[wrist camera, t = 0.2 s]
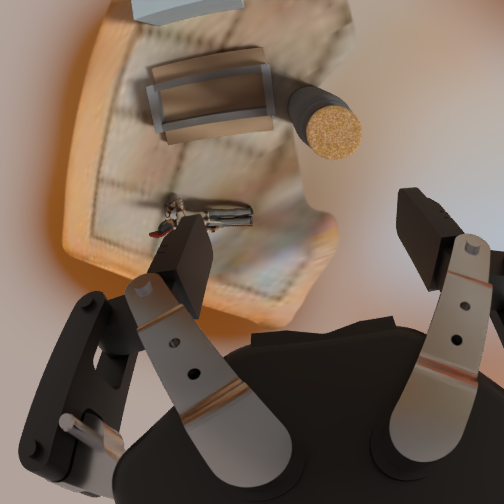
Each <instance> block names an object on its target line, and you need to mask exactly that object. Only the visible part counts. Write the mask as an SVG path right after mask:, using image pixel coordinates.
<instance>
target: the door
mask: <svg viewBox="0 0 504 504" xmlns="http://www.w3.org/2000/svg"><path fill="white" fill-rule="evenodd" d="M131 3H132V10H133V17H134V20H137V21H141V22H145V23H149V24H153V25H156V26H162V25H165V24H169V23H172V22H176V21H180V20H184V19H188V18H192V17H197V16H202V15H206V14H212V13H217V12H223V11H229V10H235V9H243V8H244V2H243V0H131Z"/></svg>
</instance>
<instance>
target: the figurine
mask: <svg viewBox="0 0 504 504" xmlns="http://www.w3.org/2000/svg"><path fill="white" fill-rule="evenodd" d="M166 204H167V205H165V207H166V206H167V209H166V211H167V213H169V216H170V214H171V211H172V210H173V209H174V208H175V207H176V206H178V207H177V214H176V216H177V219H176V220H174V219H171V218H170V219H169V220H166V219H165V221H163V222H162V223H161V224H160V225H159V228H158V229H159V230H158V231H155V232H152V233H149V236H150V237H155V238H159V237H163V236H164V235H166V234H167V233H168V232H170V231H171V230H173V227H177V225H178V223H179V221H180V219H181V217H183V216H188V215H194V214H201V215H202V217H203V220H204V223H205V226H206V230H207V233H208V232H215V230H218V229H219V228H223V227H227V226H252V225H231V224H241V223H250V224H252V220H253V218H252V216H246V217H234V218H220V217H224V216H241V215H251V214H253V210H252V208H251V206H250V207H249V208H246V209H242V208H241V209H240V208H236V209H229V210H224V209H209V210H205V211H201V212H190V211H186V210H185V209H184V202H183V199H182V198H180V199H178V200H176V201H174V202H173V203H172V204H171V205H170V203H169V202H166ZM165 207H164V210H165ZM165 216H166V214H165ZM166 218H169V217H166ZM229 224H230V225H229Z"/></svg>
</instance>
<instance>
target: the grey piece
mask: <svg viewBox="0 0 504 504" xmlns="http://www.w3.org/2000/svg"><path fill="white" fill-rule="evenodd" d="M152 72H153V77H154V82H155V84H154V85H151V86H147V87H146V91H147V96H148V101H149V105H150V110H151V114H152V119H153V123H154V128H155V132H156V134H157V133H161V132H165V134H166V138H167V143H168V145H172V144H177V143H183V142H188V141H194V140H200V139H206V138H213V137H220V136H227V135H234V134H242V133H251V132H260V131H270V130H273V121H272V115H276V111H275V103H274V94H273V86H272V78H271V71H270V64H265V58H264V51H263V47H260V48H251V49H243V50H236V51H229V52H223V53H217V54H211V55H206V56H201V57H196V58H191V59H187V60H182V61H178V62H174V63H170V64H166V65H162V66H159V67H155V68H152Z"/></svg>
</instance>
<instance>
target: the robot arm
mask: <svg viewBox="0 0 504 504" xmlns="http://www.w3.org/2000/svg"><path fill="white" fill-rule="evenodd" d="M396 229H397V234H398V236H399V239H400V240H401V242H402V243H403V245H404V247H405V249H406V251H407V252H408V254H409V256H410V258H411V259H412V261H413V263H414V265H415V267H416V269H417V271H418V273H419V274H420V276H421V278H422V280H423V282H424V284H425V286H426V288H427V290H428V292H430V291H435V290H440V292H441V294H440V297H439V300H438V303H437V306H436V309H435V312H434V315H433V318H432V321H431V323H430V326H429V329H428V332H427V334H424V333H422V332H420V331H417V330H415V329H411V328H407V327H401V326H396V325H395V322H394V319H393V316H389V317H383V318H377V319H371V320H365V321H359V322H356V323H354V324H351V325H348V326H346V327H343V328H340V329H337V330H335V331H332V332H329V333H326V334H318V333H307V332H296V331H287V330H286V331H276V332H265V333H252V334H251V344H250V345H247V346H244V347H242V348H239V349H237V350H235V351H233V352H231V353H229V354H228V355H226V356H225V357H222V356H221V355H220V353H219V352H218V351H217V350H216V348H215V347H214V346H213V344H212V343H211V342H210V340H209V339H208V338H207V337H206V335H205V334H204V333H203V331H202V330H201V329H200V327H199V326H198V325H197V323H196V322H195V320H194V319H199V315H200V311H201V307H202V302H203V298H204V294H205V290H206V285H207V281H208V277H209V273H210V269H211V265H212V261H213V250H212V245H211V242H210V239H209V236H208V233H207V230H206V226H205V223H204V220H203V217H202V215H201V214H194V215H188V216H183V217H181V219H180V221H179V223H178V225H177V228H176V230H172V231H171V232H169V233H168V234H167V235H166V236H165V237H164V239H163V241H162V243H161V245H160V247H159V249H158V251H157V254H156V255H155V257H154V259H153V261H152V263H151V265H150V267H149V269H148V271H147V273H146V274H143V275H140V276H138V277H137V278H135V279H134V280H132V281H131V282H130V283H129V284H128V286H127V287H126V289H125V295H122V296H119V297H116V298H114V299H110V300H107V298H106V297H105V295H104V294H103V293H102V292H100V291H93V292H90V293H88V294H86V295H84V296H83V297H82V298H81V299H80V300H79V301H78V302H77V303H76V305H75V306H74V308H73V310H72V312H71V314H70V316H69V318H68V320H67V322H66V324H65V326H64V328H63V330H62V332H61V335H60V337H59V339H58V341H57V343H56V346H55V348H54V350H53V352H52V354H51V357H50V359H49V361H48V364H47V366H46V369H45V371H44V374H43V376H42V378H41V381H40V383H39V386H38V389H37V391H36V394H35V397H34V400H33V402H32V405H31V408H30V411H29V414H28V417H27V420H26V423H25V426H24V429H23V432H22V436H21V439H20V443H19V449H18V454H19V459H20V462H21V463H22V465H23V466H24V468H26V469H27V470H29V471H31V472H33V473H35V474H37V475H39V476H41V477H43V478H45V479H46V480H47V481H49V482H52V483H54V484H56V485H59V486H61V487H64V488H66V489H68V490H71V491H73V492H79V493H82V494H84V495H87V496H91V497H100V496H103V497H107V498H110V499H114V500H115V503H116V504H504V389H503V388H502V387H500V386H499V385H498V384H496V383H495V382H493V381H492V380H491V379H490V378H488V377H487V376H485V375H484V374H483V373H481V372H480V371H479V367H480V363H481V358H482V354H483V349H484V344H485V339H486V333H487V328H488V321H489V316H490V318H491V320H492V322H493V324H494V327H495V329H496V331H497V333H498V336H499V338H500V340H501V343H502V345H503V347H504V252H501V251H493V250H490V247H489V245H488V244H487V242H486V241H485V240H483V239H482V238H480V237H478V236H476V235H473V234H465V233H464V232H463V231H462V229H460V227H459V226H458V225H457V223H456V222H455V221H454V220H453V219H452V218H450V215H448V213H447V212H445V210H444V209H443V208H442V207H441V205H440V204H439V203H437V202H435V201H433V200H432V199H430V198H427V197H426V196H425V195H424V194H423V193H422V192H421V191H420V190H419V189H418V188H416V187H414V188H402V189H399V192H398V203H397V217H396ZM97 346H99V347H100V348H101V350H102V353H101V356H100V359H99V362H98V365H97V368H96V370H95V368H94V365H93V358H94V355H95V352H96V349H97ZM143 350H146V352H147V354H148V356H149V358H150V360H151V362H152V364H153V366H154V368H155V370H156V372H157V374H158V376H159V378H160V380H161V382H162V384H163V386H164V388H165V390H166V391H167V393H168V395H169V397H170V399H171V401H172V403H173V404H174V406H173V407H172V408H171V409H170V410H169V411H168V412H167V413H166V414H165V415H164V416H163V417H162V418H161V419H160V420H159V421H157V422H156V423H155V424H154V425H153V426H152V427H151V428H150V429H149V430H148V431H147V432H146V433H145V434H144V435H143V436H142V437H141V438H139V439H138V440H137V441H136V442H135V443H134V444H133V445H132V446H131V447H130V448H129V449H127V451H125V449H124V442H123V438H122V437H121V435H120V434H119V430H120V425H121V421H122V416H123V411H124V407H125V403H126V398H127V394H128V390H129V386H130V382H131V378H132V374H133V370H134V367H135V363H136V359H137V355H138V352H139V351H143Z"/></svg>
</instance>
